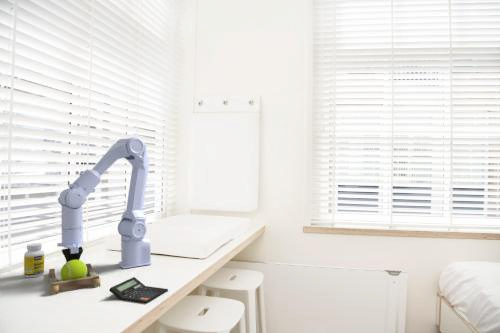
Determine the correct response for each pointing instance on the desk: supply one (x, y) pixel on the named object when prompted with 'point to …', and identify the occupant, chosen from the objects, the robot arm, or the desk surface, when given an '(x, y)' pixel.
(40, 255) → the supplement bottle
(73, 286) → the level stand
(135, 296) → the calculator
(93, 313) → the desk surface
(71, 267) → the tennis ball
